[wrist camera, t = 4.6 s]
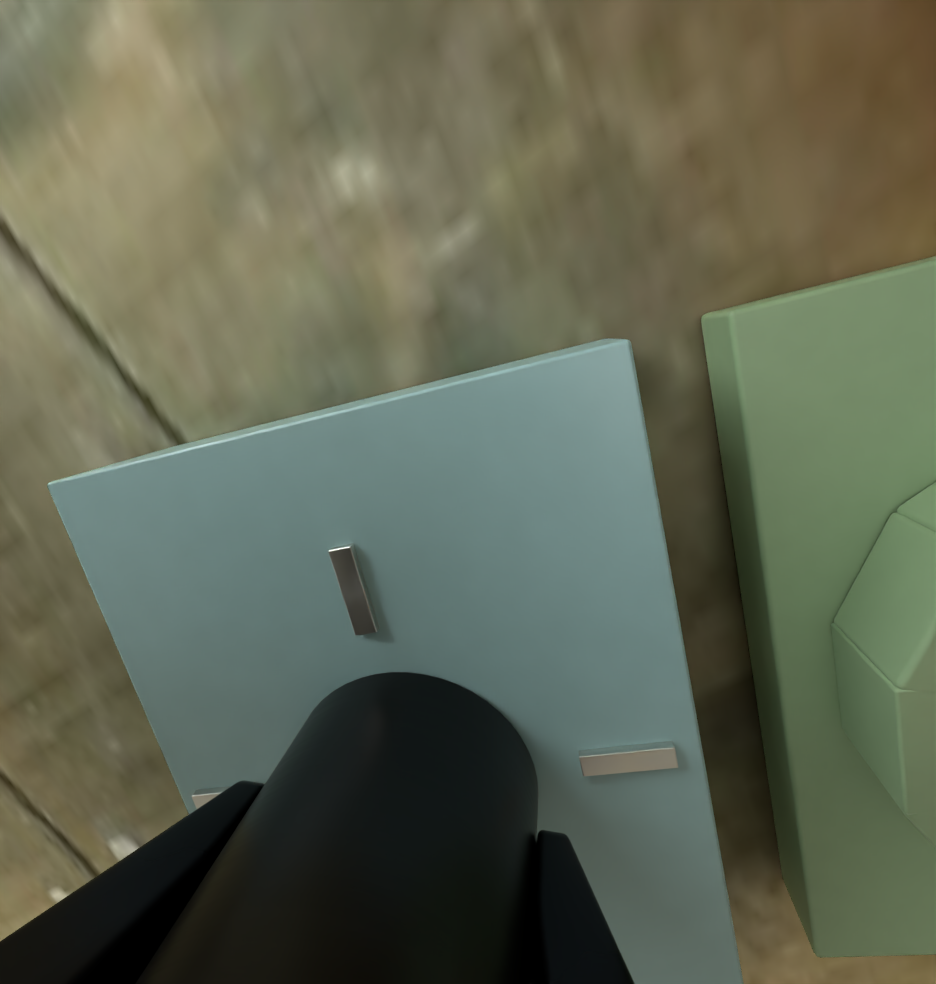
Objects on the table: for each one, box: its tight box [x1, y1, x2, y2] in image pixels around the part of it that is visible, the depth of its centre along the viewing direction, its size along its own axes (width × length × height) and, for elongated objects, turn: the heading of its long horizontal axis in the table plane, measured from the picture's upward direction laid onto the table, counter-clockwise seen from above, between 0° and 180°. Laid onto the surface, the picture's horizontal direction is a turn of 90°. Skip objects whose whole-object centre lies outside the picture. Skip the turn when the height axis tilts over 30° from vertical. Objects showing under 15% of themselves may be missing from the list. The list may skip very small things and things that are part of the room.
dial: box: [135, 672, 538, 984], centre depth 7 cm, size 4×4×5 cm
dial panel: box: [47, 338, 744, 984], centre depth 11 cm, size 9×12×3 cm
